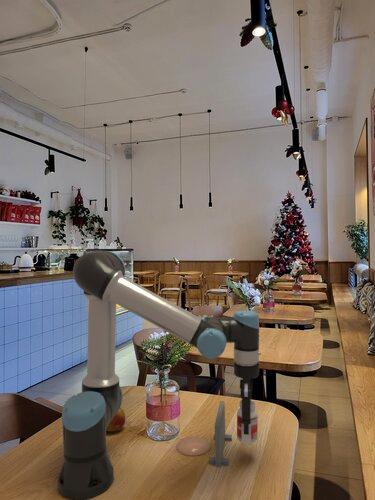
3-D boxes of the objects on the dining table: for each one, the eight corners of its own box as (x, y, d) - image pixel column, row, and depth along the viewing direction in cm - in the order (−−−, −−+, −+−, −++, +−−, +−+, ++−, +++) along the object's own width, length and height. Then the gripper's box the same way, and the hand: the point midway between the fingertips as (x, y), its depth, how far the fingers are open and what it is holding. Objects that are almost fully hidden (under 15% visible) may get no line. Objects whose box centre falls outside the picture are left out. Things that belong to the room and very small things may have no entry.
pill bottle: (235, 434, 118) (235, 398, 118) (254, 433, 118) (254, 398, 118) (239, 444, 112) (239, 407, 112) (259, 443, 112) (260, 406, 112)
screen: (228, 467, 111) (227, 426, 111) (208, 465, 112) (206, 425, 112) (232, 436, 129) (231, 401, 129) (214, 435, 130) (213, 400, 130)
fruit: (130, 425, 140) (129, 403, 140) (119, 437, 131) (118, 414, 131) (106, 422, 142) (105, 401, 142) (94, 434, 133) (93, 411, 133)
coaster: (208, 457, 117) (208, 455, 117) (173, 454, 119) (173, 452, 119) (212, 439, 128) (212, 437, 128) (180, 437, 130) (180, 435, 130)
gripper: (259, 373, 105) (259, 456, 105) (258, 353, 124) (258, 423, 124) (232, 372, 106) (232, 453, 106) (235, 352, 125) (235, 422, 125)
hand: (246, 437), depth 115 cm, fingers closed on pill bottle, 6 cm apart
